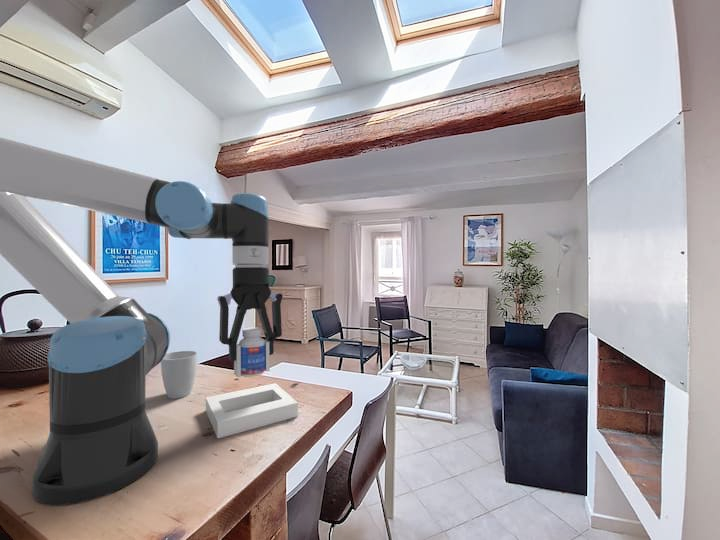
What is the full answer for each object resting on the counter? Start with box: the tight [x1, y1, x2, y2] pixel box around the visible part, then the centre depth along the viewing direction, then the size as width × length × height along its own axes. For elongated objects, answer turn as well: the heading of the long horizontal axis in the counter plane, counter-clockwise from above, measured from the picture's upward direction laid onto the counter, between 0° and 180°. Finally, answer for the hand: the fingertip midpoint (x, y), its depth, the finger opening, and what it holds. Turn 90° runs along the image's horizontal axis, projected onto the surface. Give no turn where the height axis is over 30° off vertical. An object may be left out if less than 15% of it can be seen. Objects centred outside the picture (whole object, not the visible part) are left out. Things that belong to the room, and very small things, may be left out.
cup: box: [160, 350, 198, 399], centre depth 81 cm, size 8×8×10 cm
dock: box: [205, 383, 299, 439], centre depth 73 cm, size 16×20×3 cm
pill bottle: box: [238, 327, 266, 378], centre depth 70 cm, size 6×5×10 cm
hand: (252, 372), depth 70 cm, fingers closed on pill bottle, 5 cm apart
